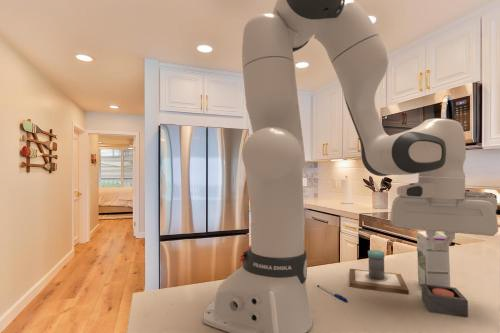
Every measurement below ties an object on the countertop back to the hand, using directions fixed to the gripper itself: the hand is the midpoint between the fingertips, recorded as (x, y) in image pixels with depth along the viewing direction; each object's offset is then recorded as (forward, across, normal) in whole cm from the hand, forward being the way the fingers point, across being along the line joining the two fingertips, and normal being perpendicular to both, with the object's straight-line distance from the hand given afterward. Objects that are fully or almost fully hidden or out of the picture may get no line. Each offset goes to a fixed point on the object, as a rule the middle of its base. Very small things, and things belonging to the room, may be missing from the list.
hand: (439, 251), depth 63 cm
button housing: (+13, -1, 0) cm, 13 cm away
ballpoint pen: (+14, +23, +1) cm, 27 cm away
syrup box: (+13, -2, -12) cm, 17 cm away
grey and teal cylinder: (+12, +12, -11) cm, 20 cm away
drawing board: (+13, +12, -11) cm, 21 cm away
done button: (+11, -1, 0) cm, 11 cm away
